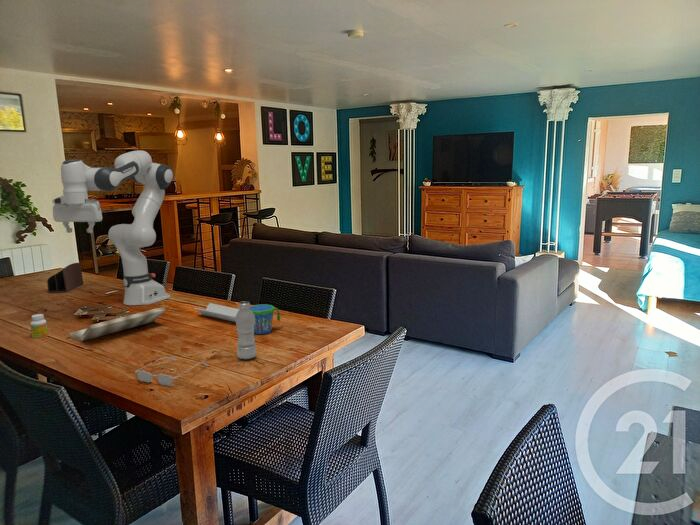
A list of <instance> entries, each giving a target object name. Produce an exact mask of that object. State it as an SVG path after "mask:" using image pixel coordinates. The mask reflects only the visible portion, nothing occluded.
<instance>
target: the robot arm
mask: <svg viewBox="0 0 700 525" xmlns="http://www.w3.org/2000/svg"><path fill="white" fill-rule="evenodd" d="M60 178H61V179H60V180H61V183H62V186H63V189H62V195H61V196H57V197H55V198H53V199H52V204H53V206H52V216H53V220H54V221H55V222H56V223H62V225H63V227H64V228H65V231H66V233H67V234H68V233H69V234H71V233H73V228H72V227H70V223H87V224H88V228H86V233H88V234H92V233H94V231H93V230H94V226H95V225H96V223H98V222H102V221H103V213H102V209H101V204H100V202H99V201H98V200H97V199H89V195H88V191H91V192H92V191H93V192H95V191H98V192H100V191H101V192H102V191H103V192H114V191H116V190H117V189H118V188H119V187H120V185H121V184H123V183H124V182H125V181H127V180H129V179H131V180H132V182H135V183H137V184H144V189H143V190H142V191H141V193H140V195H139V197H138V198H137V200H136V201H135V203H134V205H133V207H132V210H131V214H132V215H133V217H134V218H133V219H134V220H133V222H132V223H121V224H115V225H112V226H111V227H110V228H109V230H108V233H107V234H108V236H107V238H109V241H110V243H112V244H113V245H114V247H115V248H116V250H117V252H118V254H119V256H120V258H121V264H122V270H123V276H122V278H123V280H122V281H123V286H124V296H123V303H122V304H123V305H127V306H140V305H141V306H142V305H143V306H144V305H147V306H148V305H152V304H155V303H158V302H162V301H164V300H168V299H171V297H172V296H171V294H170V293H167V291H166V288H165V287H164V285H163V284H161V283H159V282H157V281H156V280H154V279H153V278H155V277H156V273H153V272H152V273H150V272H149V268H148V261H147V256H145V254H143V253H142V251H141V250H140V248H145V247H146V248H147V247H150V246H152V245H154V243H155V242H156V239H157V234H156V231H155V229H154V221H155V219H156V217H157V214H158V213H159V210H160V208H161V206H162V204H163V203H164V202H163V201H164V199H165V194H166V190H167V188H168V187H169V186H170V185H171V183H172V182H173V181H174V171H173V169H172V167H170V166H169V165H166V164H163V163H162V164H160V163H157V162H153V159H152V156H151V155H150V154H149V152H147V151H145V150H142V149H141V150H132V151H128V152H125V153H122V154H120V155H119V156H117V157H116V158H115V160H114V167H111V166H107V167H106V166H104V167H91V166H89V165H87V164H86V163H84V161H83V160H82V159H78V158H77V159H75V158H74V159H67V160H64V161H63V162H62V163H61V166H60Z"/></svg>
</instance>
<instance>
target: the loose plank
mask: <svg viewBox="0 0 700 525" xmlns="http://www.w3.org/2000/svg"><path fill="white" fill-rule="evenodd" d="M165 311H166V308H165V306H162V307H157V308H154V309H149V310H145V311H141V312H138V313H134V314H130V315H129V314H128V315H125V316H122V317H117V318H112V319H109V320H105V321H101V322H99V323H95V324H90V325H89V326H88V327H87V328H86V329H87V330H86V331H85V332H84V334H83V335H82V336H81V337H80V339H81V342H85V341H88V340H91V339H95V338H99V337H103V336H106V335H110V334H114V333H117V332H120V331H125V330H128V329H131V328H132V329H133V328H135V327H138V326H143V325H146V324H150V323H153V322H155V321H156V320H158V318H159V317H160V316H161V315H162V314H163V313H164V312H165Z"/></svg>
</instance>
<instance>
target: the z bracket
mask: <svg viewBox="0 0 700 525" xmlns="http://www.w3.org/2000/svg"><path fill="white" fill-rule="evenodd" d="M194 310H196V311H198V312H199V313H200V314H201V315H202V316H206V317H211V318H215V319H221V320H224V321H229V322H231V323H232V322H233V323H236V320H235V318H236V315H237V313H238V311H239V308H235V307H229V306H226V305H220V304H216V303H212V302H209V303H208V304H207V307H206V308H205V309H204V308H199V307H194Z"/></svg>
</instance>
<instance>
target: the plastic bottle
mask: <svg viewBox="0 0 700 525" xmlns="http://www.w3.org/2000/svg"><path fill="white" fill-rule="evenodd" d="M250 306H251V303H250V301H247V300H246V301H245V300H244V301H239V302H238V306H237V309H239V311H238V313H237V315H236V318H235V320H236V322H235V324H236V329H237V330H236V331H237V349H236V355H237V357H238V358H239V359H241V360H251V359H254V358H255V357H256V355H257V345H256V341H255V340H256V339H255V333H254V323H255V316H254V314H253V312H252V311H251V310H250Z"/></svg>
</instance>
